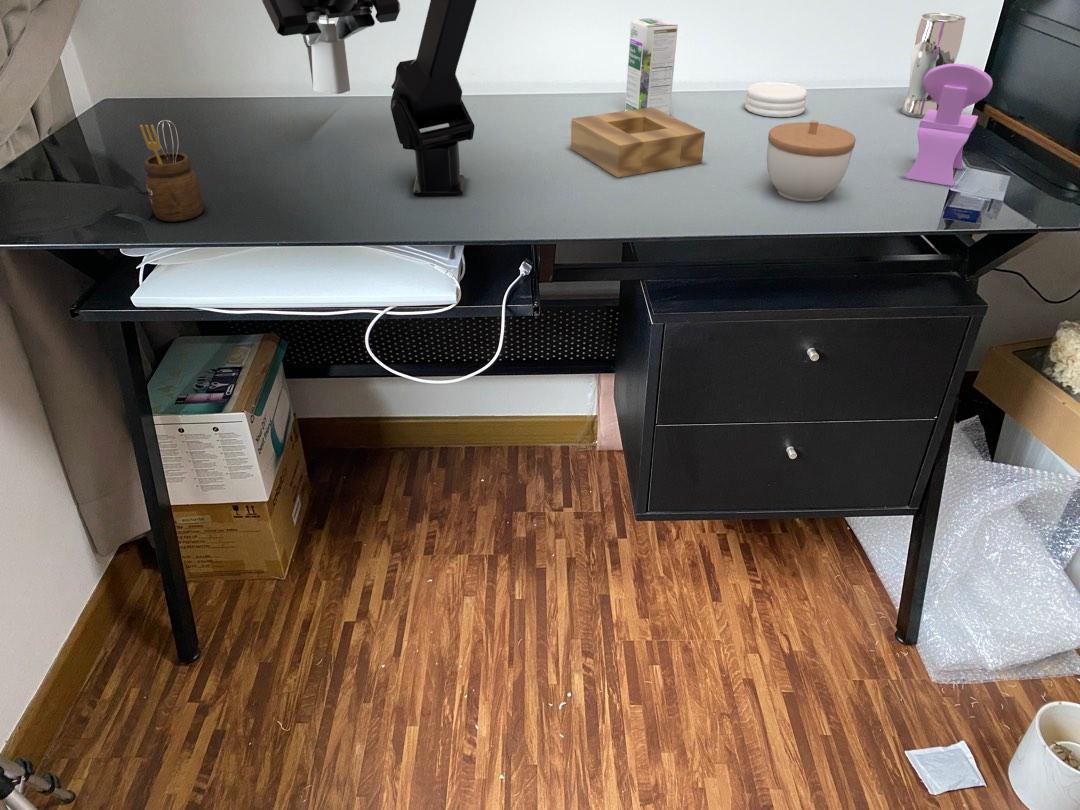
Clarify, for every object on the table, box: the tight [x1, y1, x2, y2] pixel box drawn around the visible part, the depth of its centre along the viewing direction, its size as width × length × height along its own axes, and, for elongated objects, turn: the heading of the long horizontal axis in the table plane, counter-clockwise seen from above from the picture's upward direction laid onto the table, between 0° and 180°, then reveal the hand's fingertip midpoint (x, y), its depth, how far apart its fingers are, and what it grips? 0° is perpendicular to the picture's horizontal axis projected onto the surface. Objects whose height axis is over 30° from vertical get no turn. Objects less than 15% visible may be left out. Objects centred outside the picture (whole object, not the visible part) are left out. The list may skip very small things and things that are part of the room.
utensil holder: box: [139, 119, 204, 223], centre depth 103 cm, size 6×6×12 cm
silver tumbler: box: [900, 12, 967, 119], centre depth 140 cm, size 7×7×15 cm
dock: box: [570, 107, 706, 179], centre depth 124 cm, size 14×14×4 cm
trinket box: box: [766, 119, 857, 202], centre depth 110 cm, size 11×11×9 cm
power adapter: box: [306, 16, 351, 95], centre depth 127 cm, size 3×5×12 cm, turn 62°
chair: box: [905, 63, 994, 187], centre depth 115 cm, size 8×9×15 cm
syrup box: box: [624, 17, 679, 116], centre depth 139 cm, size 6×6×14 cm
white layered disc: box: [744, 81, 808, 118], centre depth 144 cm, size 10×10×4 cm
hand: (321, 42), depth 127 cm, fingers closed on power adapter, 4 cm apart
